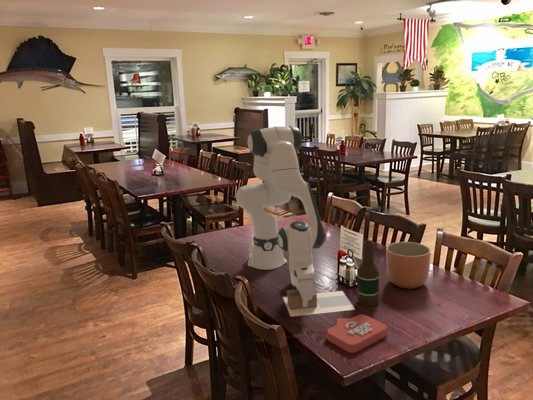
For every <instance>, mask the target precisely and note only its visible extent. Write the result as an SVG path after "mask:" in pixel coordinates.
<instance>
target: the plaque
mask: <svg viewBox="0 0 533 400" xmlns="http://www.w3.org/2000/svg"><path fill="white" fill-rule="evenodd" d="M326 333H327V335H326V336H327V337H326V338H327V341H329V343H332V344H333V345H335V346H337V347H339V348H341V349H342V350H344V351H345V352H347V353H350V354H354V353H357V352H359V351H361V350H362V349H365V348H366V347H368V346H371V345H372V344H374V343H377V342H378V341H380V340H382V339H384V338H385V337H387V336H388V326H387V324H385V323H383V322H381V321H379V320H377V319H375V318H373V317H371V316H368V315H366V314H358V315H355V316H353V317H349V318H347V317H346V318H343V317H342V318H341V317H340V318H337V319H336V325H334V326H331V327H329V328H328V329H327V331H326Z"/></svg>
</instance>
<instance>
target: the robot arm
mask: <svg viewBox="0 0 533 400" xmlns="http://www.w3.org/2000/svg"><path fill="white" fill-rule="evenodd" d="M247 136H248V137H247V142H246V143H247V148H248V150H249V152H250V153H251V154H252V155H253V156H254V157H253V171H252V172H253V174H254V176H255V177H256V178H257V179H259V180H260V181H262V182H261V183H251V184H246V185H243V186H240V187H239V188H238V189H237V191H236V192H235V193H236V194H235V199H236V203H237V204H238V207H240V208H241V209H242V210H245V211H246V212H247V213H248V215H249V216H250V218H251V220H252V226H253V237H252V239H253V240H252V241H253V245H252V247H251V248H249V256H248V257H249V258H248V261H247V265H248V266H247V267H249V266H250V268H254V269H256V270H266V271H267V270H268V271H269V270H274V269H277V268H280V267H282V266H283V265H286V264H287V263H288V270H289V272H291V273H292V279H293V281H294V283H295V285H296V286H295V288H296V289H298V291H299V293H300V296H301V298H302V305H303V307H307V306H308V300H311V299H312V297H313V289H314V279H315V277H316V274H315V270H314V257H313V252H312V251H313V249H320V248H321V247H322V246H323V245H324V243H326V239H327V237H326V236H327V235H326V231H325V228H324V226H323V223H322V220H321V217H320V214H319V210H318V207H317V204H316V200H315V196H314V193H313V191H312V188H311V185H310V183H309V182H308V181H305V180H304V179H303V176H302V175H301V172H300V171H301V170H300V166H299V160H298V155H297V152H298V151H299V150H301V148H302V145H303V136H302V133H301V130H300V129H299V128H298V127H297V126H293V125H289V126H273V127H266V128H261V129H260V128H257V129H252V130H251V131H249V134H248V135H247ZM292 197H294V198H297V199H298V200H300V201H301V203H302V205H303V208H304V211H305V215H306V218H307V222H305V221H303V220H299V221H298V220H295V221H293V222H291V223H290V224H289V225H286V226H282V227H280V229H279V227H278V226H279V225H278V224H279V223H278V219H277V217H276V216H275V215H273V214H272V213H269V212H266V211H265V208H268V207H269V208H270V207H276V206H281V205H285V204H288V203H289V202H290V200H291V198H292ZM278 229H279V230H278ZM284 252H286V253H289V255H288V259H287V258H285V257H284Z"/></svg>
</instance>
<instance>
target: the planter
mask: <svg viewBox="0 0 533 400" xmlns="http://www.w3.org/2000/svg"><path fill="white" fill-rule="evenodd" d="M385 249H386V250H385V255H386V258H385V263H386V274H387V278H388V280H389V281H390V282H391V283H392V284H393V285H394V286H397V287H398V288H400V289H401V288H402V289H409V290H412V289H417V288H420V287H421V286H423V285H424V284H426V282H427V280H428V278H429V273H430V266H431V252H432V251H431V249H430V247H429V246H427V245H424V244H422V243H418V242H412V241H399V242H393V243H390V244H388V245H387V246H386V248H385Z"/></svg>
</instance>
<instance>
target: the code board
mask: <svg viewBox="0 0 533 400" xmlns="http://www.w3.org/2000/svg"><path fill="white" fill-rule="evenodd" d="M316 294H317V307H311V308H302V309H293V310H290V307H289V305H288V298H287V296H282V298H283V301H284V304H285V306H286V309H287V311H288V314H289V316H290V317H300V316H301V317H302V316H308V315H309V316H310V315H319V314H326V313H328V314H329V313H335V312H336V313H337V312H344V311H353V310H354V311H355V310H356V309H355V307H354V305H353V304H352V302H351V301H350V300H349V298H348V297H347V296H346V294H345V292H344V291H343V290H339V291H328V292H319V293H316Z"/></svg>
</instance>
